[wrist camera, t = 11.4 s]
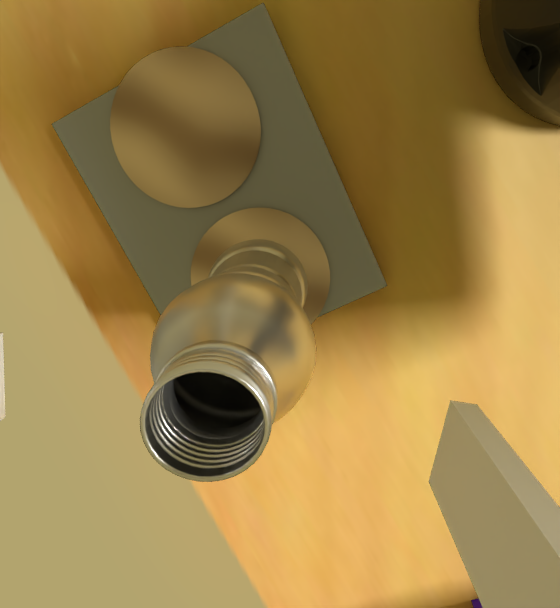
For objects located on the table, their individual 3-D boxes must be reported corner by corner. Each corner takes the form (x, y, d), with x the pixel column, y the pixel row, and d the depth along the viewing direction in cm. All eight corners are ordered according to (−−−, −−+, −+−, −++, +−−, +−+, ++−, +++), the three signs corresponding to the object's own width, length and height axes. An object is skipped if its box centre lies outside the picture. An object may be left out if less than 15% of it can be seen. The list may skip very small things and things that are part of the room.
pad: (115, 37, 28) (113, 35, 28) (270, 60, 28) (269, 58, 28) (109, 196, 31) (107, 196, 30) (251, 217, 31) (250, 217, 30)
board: (60, 126, 31) (51, 124, 30) (264, 10, 29) (263, 2, 27) (197, 367, 35) (193, 373, 34) (384, 282, 33) (387, 285, 32)
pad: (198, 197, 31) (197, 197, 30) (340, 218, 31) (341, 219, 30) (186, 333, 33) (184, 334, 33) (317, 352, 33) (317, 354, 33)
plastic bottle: (197, 261, 31) (38, 379, 12) (282, 217, 30) (257, 270, 11) (240, 338, 33) (159, 556, 13) (322, 299, 32) (364, 472, 12)
